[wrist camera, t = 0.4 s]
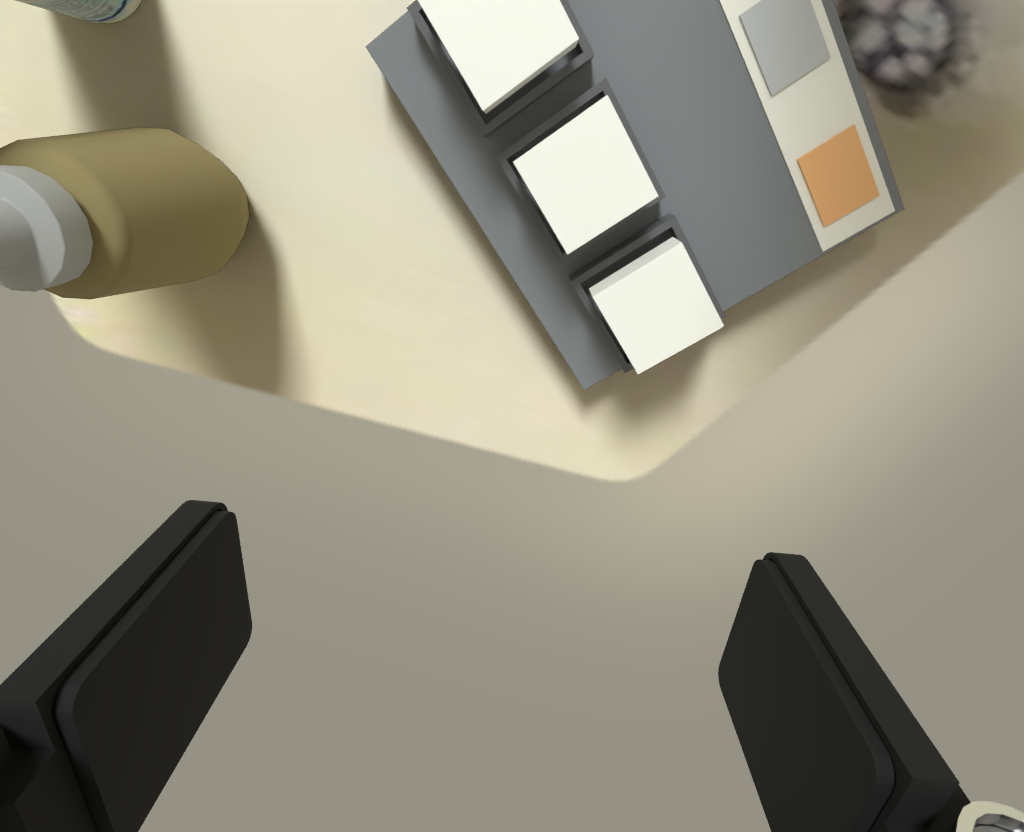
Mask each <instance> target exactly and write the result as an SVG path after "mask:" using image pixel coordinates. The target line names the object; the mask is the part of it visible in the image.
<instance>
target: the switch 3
mask: <svg viewBox="0 0 1024 832" xmlns="http://www.w3.org/2000/svg"><path fill="white" fill-rule="evenodd" d="M589 290H590V292H591V295H592V297H593V299H594V300H595V302H596V304H597V306H598V307H599V309H600V311H601V312H602V314H603V316H604V317H605V319H606V321H607V323H608V324H609V326H610V328H611V329H612V331H613V333H614V334H615V336H616V338H617V340H618V341H619V343H620V345H621V346H622V348H623V350H624V351H625V353H626V355H627V357H628V358H629V360H630V362H631V363H632V365H633V367H634V368H635V370H636V372H637V374H640V373H641V372H643V371H645V370H647V369H649V368H650V367H652V366H654V365H656V364H658V363H659V362H661V361H663V360H665V359H667V358H668V357H670V356H672V355H674V354H676V353H677V352H679V351H681V350H683V349H685V348H686V347H688V346H690V345H692V344H693V343H695V342H697V341H699V340H701V339H702V338H704V337H706V336H708V335H710V334H711V333H713V332H715V331H717V330H719V329H720V328H722V327H724V325H723V323H722V321H721V319H720V317H719V315H718V313H717V311H716V309H715V307H714V305H713V303H712V301H711V299H710V297H709V295H708V293H707V291H706V289H705V287H704V285H703V283H702V281H701V279H700V277H699V275H698V273H697V271H696V269H695V267H694V265H693V263H692V261H691V259H690V257H689V255H688V253H687V251H686V249H685V247H684V245H683V243H682V242H681V241H679V240H677V239H675V238H674V237H672V238H670V239H668V240H667V241H665V242H663V243H662V244H660V245H659V246H657V247H655V248H654V249H652V250H650V251H649V252H647V253H646V254H644V255H642V256H641V257H639V258H638V259H636V260H634V261H633V262H631V263H629V264H628V265H626V266H625V267H623V268H621V269H620V270H618V271H616V272H615V273H613V274H612V275H610V276H608V277H607V278H605V279H603V280H602V281H600V282H599V283H597V284H595V285H594V286H592V287H591V288H589Z"/></svg>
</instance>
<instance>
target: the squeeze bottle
mask: <svg viewBox="0 0 1024 832" xmlns="http://www.w3.org/2000/svg"><path fill="white" fill-rule="evenodd" d="M248 220H249V209H248V202H247V196H246V194H245V192H244V190H243V188H242V186H241V184H240V182H239V180H238V178H237V176H236V175H235V174H234V173H233V172H232V171H231V170H230V169H229V168H228V167H227V166H226V165H225V164H224V163H223V162H222V161H220V160H219V159H218V158H216V157H215V156H214V155H212V154H211V153H209V152H208V151H207V150H205V149H204V148H203V147H201V146H200V145H199V144H197V143H195V142H193V141H191V140H189V139H187V138H185V137H183V136H181V135H179V134H177V133H175V132H173V131H171V130H168V129H158V128H142V127H135V128H126V129H117V130H107V131H98V132H89V133H79V134H70V135H60V136H51V137H42V138H32V139H23V140H17V141H15V142H12V143H10V144H8V145H6V146H4V147H2V148H0V285H2V286H4V287H6V288H9V289H11V290H19V291H38V290H42V289H44V290H46V291H49V292H51V293H53V294H56V295H58V296H60V297H63V298H79V299H95V298H101V297H106V296H112V295H118V294H123V293H129V292H134V291H140V290H146V289H151V288H157V287H163V286H168V285H174V284H180V283H185V282H191V281H196V280H199V279H201V278H204V277H206V276H209V275H211V274H214V273H217V272H219V270H220V269H221V268H222V267H223V266H224V265H225V264H226V262H227V261H228V260H229V259H230V258H231V257H232V256H233V254H234V253H235V251H236V249H237V248H238V246H239V244H240V242H241V240H242V238H243V236H244V234H245V231H246V228H247V224H248Z"/></svg>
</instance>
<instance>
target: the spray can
mask: <svg viewBox="0 0 1024 832" xmlns="http://www.w3.org/2000/svg"><path fill="white" fill-rule="evenodd" d="M16 1H20V2H23V3H26V4H30V5H33V6H37V7H40V8H44V9H47V10H50V11H54V12H57V13H61V14H64V15H68V16H71V17H75V18H78V19H81V20H85V21H88V22H91V23H114V22H117V21H120V20H124V19H126V18H127V17H128V16H130V15H131V14H132V13H133V12H135V11H136V9H137V8H138V6H139V5H140V3H141V1H142V0H16Z"/></svg>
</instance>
